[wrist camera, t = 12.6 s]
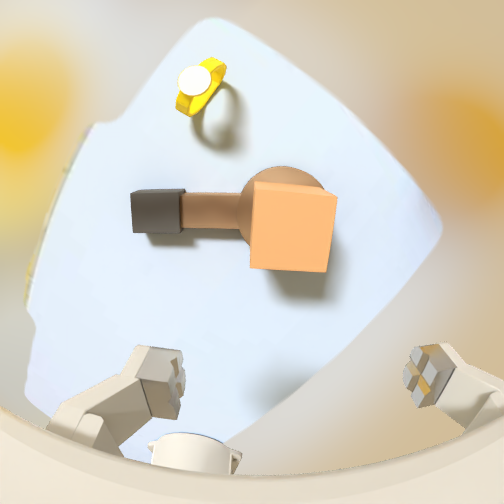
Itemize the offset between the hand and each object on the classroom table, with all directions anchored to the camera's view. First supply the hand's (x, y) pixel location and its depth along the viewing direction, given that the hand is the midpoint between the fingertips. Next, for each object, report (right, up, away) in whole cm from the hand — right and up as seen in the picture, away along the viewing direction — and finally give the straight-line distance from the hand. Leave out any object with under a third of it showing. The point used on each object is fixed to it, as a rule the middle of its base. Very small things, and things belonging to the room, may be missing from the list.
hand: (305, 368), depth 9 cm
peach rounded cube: (+1, +7, +18) cm, 19 cm away
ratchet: (-4, +8, +20) cm, 22 cm away
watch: (-6, +20, +16) cm, 26 cm away
